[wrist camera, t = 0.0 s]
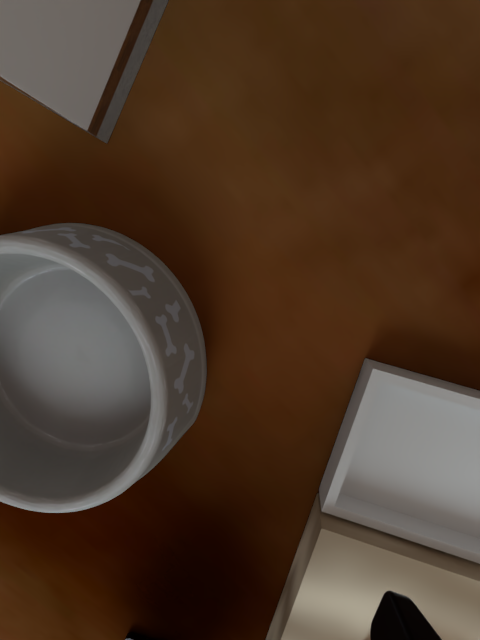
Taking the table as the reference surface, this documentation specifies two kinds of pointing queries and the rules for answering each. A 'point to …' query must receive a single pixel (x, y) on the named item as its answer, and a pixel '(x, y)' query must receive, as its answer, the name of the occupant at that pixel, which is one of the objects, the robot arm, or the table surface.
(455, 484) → the bin
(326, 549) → the platform
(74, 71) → the banded white pillar
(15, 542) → the table surface
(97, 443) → the dog bowl
